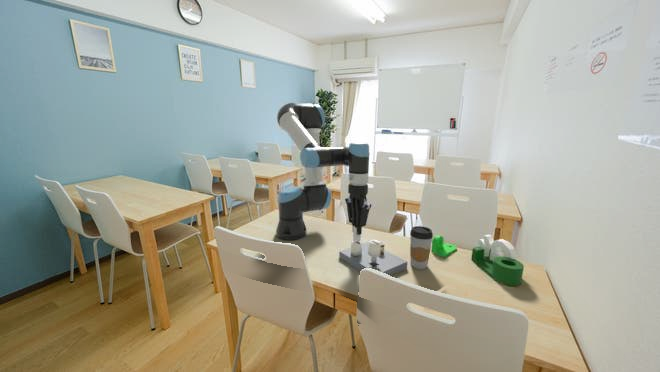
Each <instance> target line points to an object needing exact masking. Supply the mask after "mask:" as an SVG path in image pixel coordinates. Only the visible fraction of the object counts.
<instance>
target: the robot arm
mask: <svg viewBox="0 0 660 372" xmlns="http://www.w3.org/2000/svg"><path fill="white" fill-rule="evenodd" d="M325 114H326V113H325V111H324V109H323V106H321V105H319V104H317V103H316V104H315V103H311V102H310V103H303V102H302V103H301V102H300V103H299V102H289V103H286V104H284V105H283V106H281V107H280V108H279V111H278V112H277V116H276V117H277V118H276V120H277V123H278V126H279V127H280V129H281V130H282V131H284V132H286V133H287V134H288V136H289V137H290V138H291V140H292V142H293V143H294V144H295V146H296V147H297V149H298V150H299V151H300V153H299V159H300V164H301V166H303V168H304V172H305V173H304V174H305V183H304V184H303V187H301V186H297V185H296V186H289V187H284V188H282V189H281V190H280V191H279V192H278V200H277V202H278V218H279V220H278V222H277V226H276V230H275V233H276V234H275V235H277V236H276V237H277V238H278V239H282V240H298V239H303V238H304V237H305V236H306V235H307V226H306V224H305V220H304V213H308V212H314V211H322V210H326V209H328V208H329V206H330V204H331V202H332V191H331V188H330V187H329V186H327V183H326V182H325V181H324V180H323V178H324V177H323V169H322V168H324V167H325V168H326V167H338V166H346V167H348V186H347V188H348V190H347V191H348V198H347V197H346V198H345V199H344V201H345V203H346V209H347V217H348V222H349V223H351V226H352V241H353V242H355V243H356V242H359V241H361V239H362V230H363V229H362V228H363V227H366V226H367V221H368V218H369V212H370V210H371V208H372V204H371V203H369V202H368V198H367V195H368V193H369V185H368V183H369V169H370V145H369V144H368V143H367V142H351V143H349V145H348V146H345V145H338V146H330V147H329V146H326V147H325V146H324V147H323V146H321V145H320V144H321V143H320V133H321V132H322V128H323V127H324V126H325V123H326V115H325Z"/></svg>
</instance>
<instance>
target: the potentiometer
mask: <svg viewBox="0 0 660 372" xmlns="http://www.w3.org/2000/svg"><path fill="white" fill-rule="evenodd" d="M385 246H386V245H385V244H384V243H382V242H381V250H380V254H384V250H385Z"/></svg>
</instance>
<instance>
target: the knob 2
mask: <svg viewBox="0 0 660 372" xmlns="http://www.w3.org/2000/svg"><path fill="white" fill-rule="evenodd" d="M368 242H369V249H368V255H369V256H371V262H373V263H376V262H377V257H379V256H380V250H381V243H382V242H381V241H380V240H376V239H371V240H368Z"/></svg>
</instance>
